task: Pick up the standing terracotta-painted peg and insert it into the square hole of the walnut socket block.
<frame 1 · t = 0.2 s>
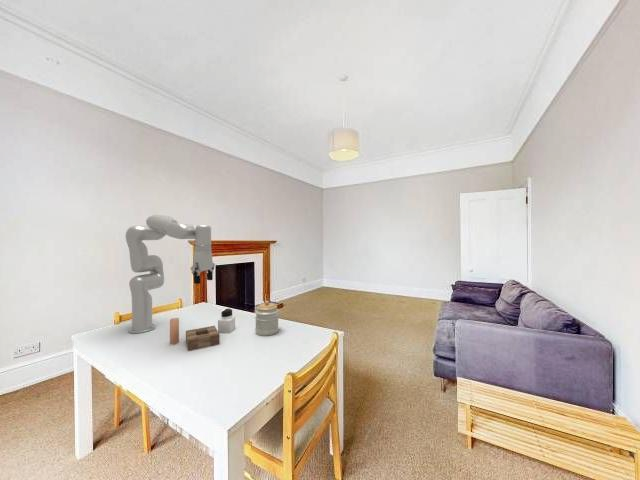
hand: (203, 281, 128), 30 cm above the table, tool pointing down, fingers open, 9 cm apart
peg: (174, 342, 126), on the table
medicine bottle: (226, 330, 142), on the table
jar: (267, 331, 140), on the table
socket block: (202, 342, 126), on the table
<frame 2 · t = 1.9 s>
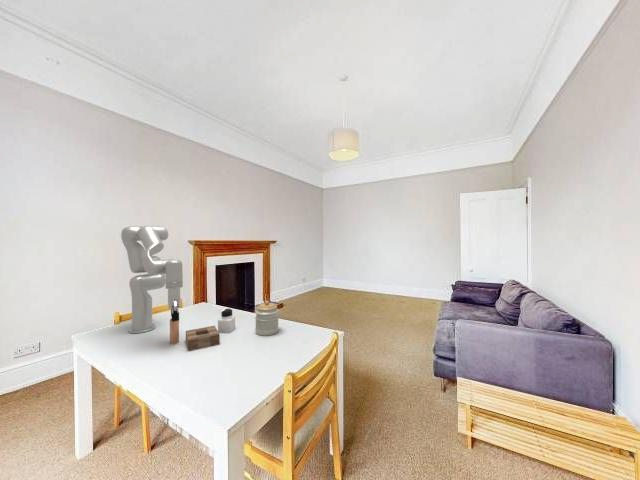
hand: (175, 318, 125), 12 cm above the table, tool pointing down, fingers open, 9 cm apart
nothing on the table moved.
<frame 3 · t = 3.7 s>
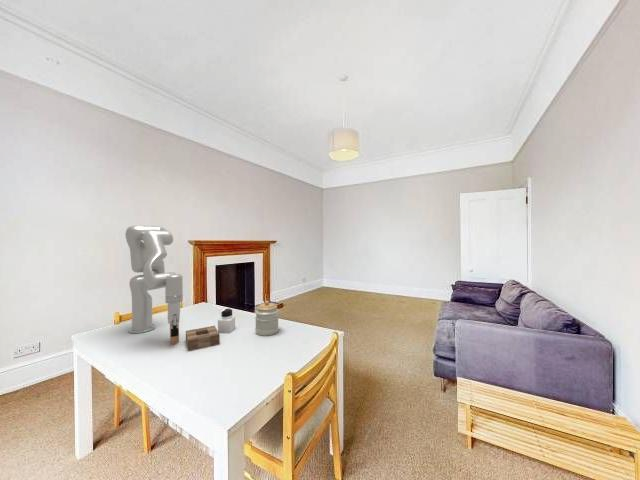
hand: (174, 334, 125), 4 cm above the table, tool pointing down, fingers closed on peg, 4 cm apart
peg: (174, 342, 126), on the table, touching gripper
everything else where it was.
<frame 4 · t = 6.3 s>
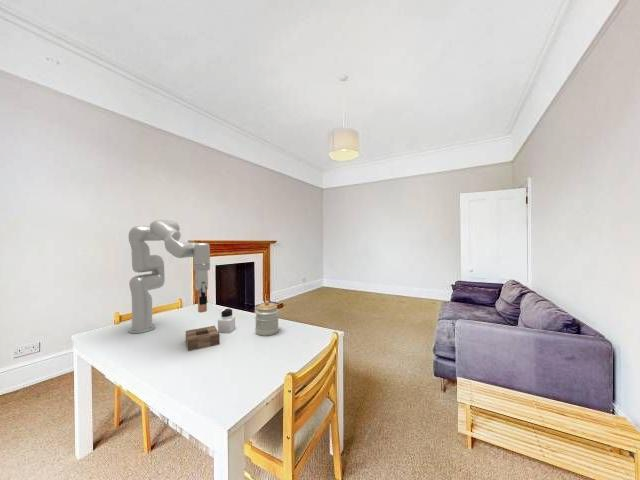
hand: (202, 302, 126), 20 cm above the table, tool pointing down, fingers closed on peg, 4 cm apart
peg: (202, 311, 126), point 16 cm above the table, touching gripper
everything else where it was.
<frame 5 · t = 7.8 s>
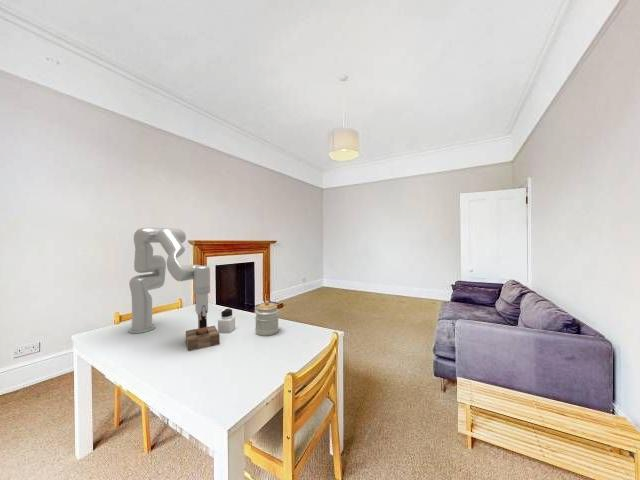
hand: (202, 325, 126), 9 cm above the table, tool pointing down, fingers closed on peg, 4 cm apart
peg: (202, 334, 126), point 4 cm above the table, touching gripper
everything else where it was.
when the fingers open (6 cm above the table, at t = 9.1 s): peg drops 1 cm, resting in socket block.
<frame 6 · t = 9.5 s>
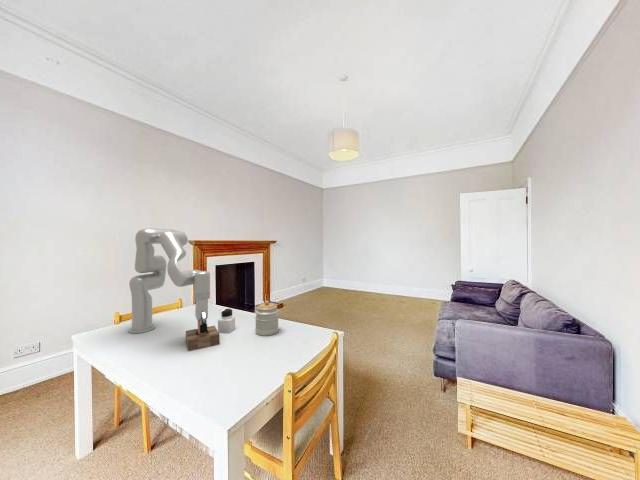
hand: (202, 329, 126), 7 cm above the table, tool pointing down, fingers open, 8 cm apart
peg: (202, 342, 126), resting in socket block
everything else where it was.
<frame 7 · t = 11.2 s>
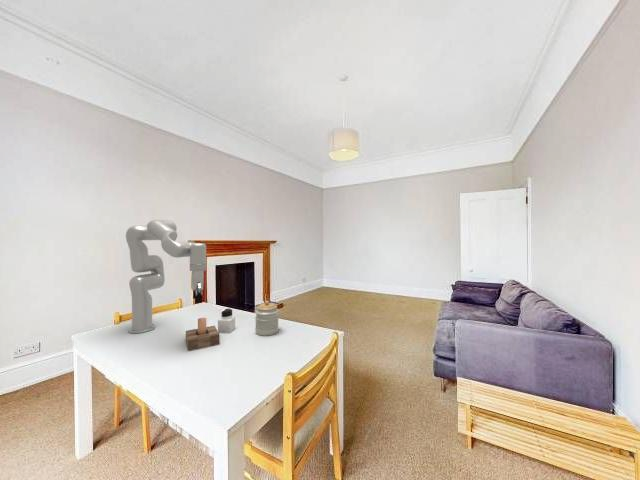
hand: (197, 300, 127), 21 cm above the table, tool pointing down, fingers open, 9 cm apart
nothing on the table moved.
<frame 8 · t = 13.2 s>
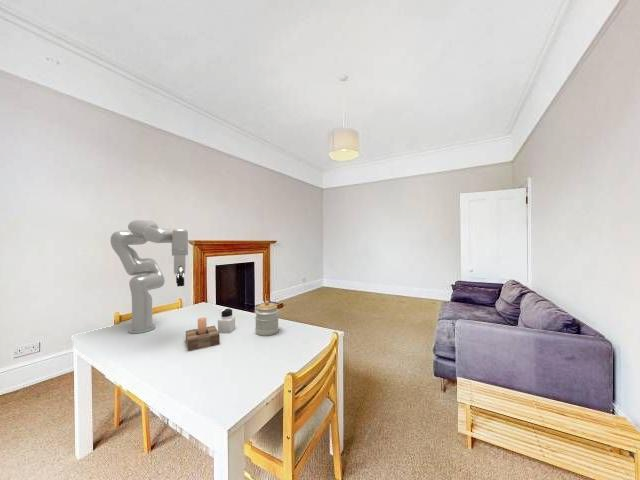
hand: (180, 284, 132), 28 cm above the table, tool pointing down, fingers open, 9 cm apart
nothing on the table moved.
at the end: peg 0.0 cm off-centre on the socket block, point 0.0 cm above the socket block's base; peg tilted 0°; the gripper is holding nothing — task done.
